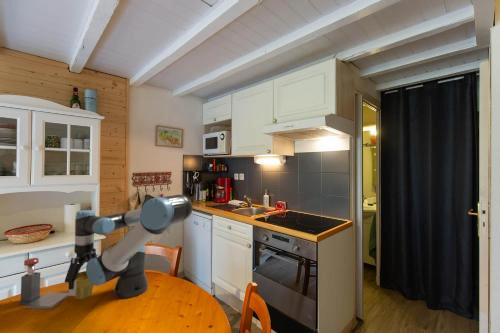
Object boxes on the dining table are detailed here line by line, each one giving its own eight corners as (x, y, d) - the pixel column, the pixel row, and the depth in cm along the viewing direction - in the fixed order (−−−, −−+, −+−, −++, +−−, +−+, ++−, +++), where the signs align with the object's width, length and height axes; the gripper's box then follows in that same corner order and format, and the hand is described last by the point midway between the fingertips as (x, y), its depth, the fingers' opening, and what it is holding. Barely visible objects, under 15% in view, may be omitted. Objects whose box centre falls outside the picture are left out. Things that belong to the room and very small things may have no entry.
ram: (40, 285, 110) (41, 258, 110) (31, 290, 105) (32, 262, 105) (30, 285, 110) (30, 257, 110) (20, 290, 105) (21, 261, 105)
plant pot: (82, 303, 107) (83, 281, 107) (63, 300, 109) (64, 278, 109) (101, 291, 117) (101, 271, 117) (83, 289, 119) (84, 269, 119)
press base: (70, 295, 113) (71, 269, 113) (51, 308, 102) (52, 280, 102) (35, 294, 113) (36, 269, 113) (12, 308, 102) (13, 280, 102)
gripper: (93, 235, 125) (91, 275, 125) (55, 252, 100) (53, 302, 100) (107, 235, 125) (106, 275, 125) (73, 252, 101) (71, 302, 100)
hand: (82, 287), depth 113 cm, fingers open, 13 cm apart
